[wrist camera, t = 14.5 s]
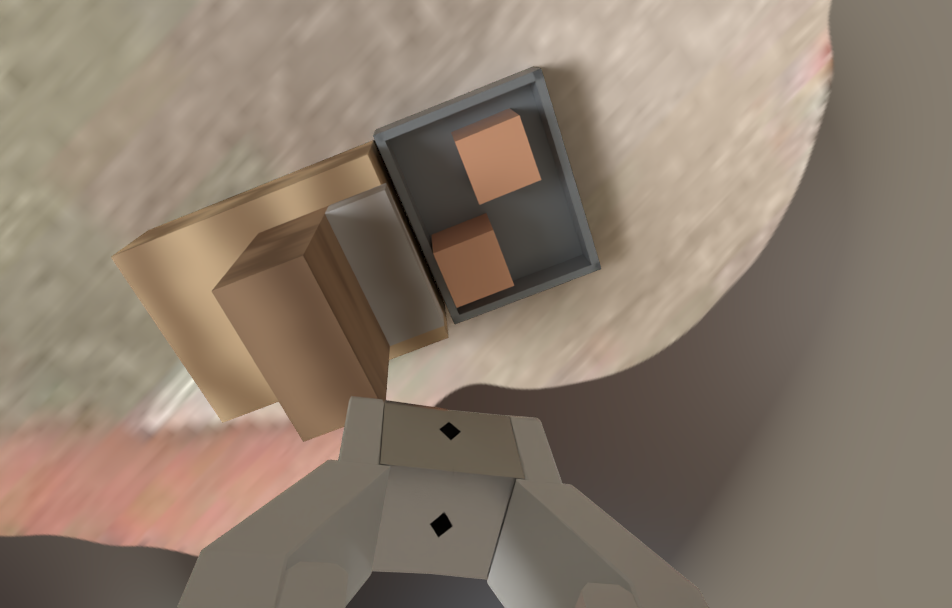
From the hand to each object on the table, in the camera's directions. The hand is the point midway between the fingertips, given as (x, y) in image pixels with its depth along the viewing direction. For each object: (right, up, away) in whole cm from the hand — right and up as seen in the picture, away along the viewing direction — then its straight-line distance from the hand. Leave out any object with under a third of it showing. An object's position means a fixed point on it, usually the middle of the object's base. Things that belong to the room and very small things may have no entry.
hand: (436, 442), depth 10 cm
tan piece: (-13, +5, +37) cm, 40 cm away
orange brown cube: (-2, +5, +35) cm, 36 cm away
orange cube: (+2, +12, +30) cm, 33 cm away
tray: (+2, +10, +36) cm, 38 cm away
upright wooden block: (-8, +4, +31) cm, 33 cm away
